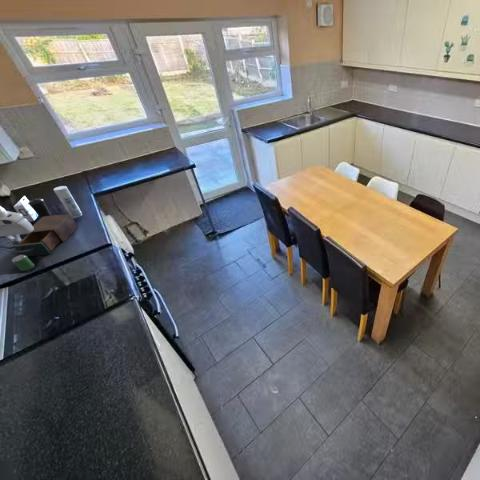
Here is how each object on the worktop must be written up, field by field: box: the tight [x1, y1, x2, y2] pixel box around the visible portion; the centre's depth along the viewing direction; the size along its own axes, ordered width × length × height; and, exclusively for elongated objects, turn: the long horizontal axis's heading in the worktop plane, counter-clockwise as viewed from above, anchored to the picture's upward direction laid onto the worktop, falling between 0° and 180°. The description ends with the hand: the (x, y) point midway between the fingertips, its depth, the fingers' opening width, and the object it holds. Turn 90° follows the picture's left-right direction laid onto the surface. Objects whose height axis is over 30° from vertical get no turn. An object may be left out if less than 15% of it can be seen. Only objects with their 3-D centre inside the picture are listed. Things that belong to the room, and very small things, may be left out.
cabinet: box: [25, 213, 79, 244], centre depth 161 cm, size 17×15×10 cm
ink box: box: [13, 195, 39, 223], centre depth 175 cm, size 8×5×15 cm, turn 25°
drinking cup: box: [28, 191, 53, 219], centre depth 172 cm, size 8×8×20 cm
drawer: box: [13, 231, 61, 257], centre depth 150 cm, size 20×13×8 cm, turn 10°
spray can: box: [53, 185, 83, 219], centre depth 175 cm, size 6×6×20 cm
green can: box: [11, 254, 35, 274], centre depth 139 cm, size 6×6×8 cm
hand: (17, 241), depth 139 cm, fingers closed
